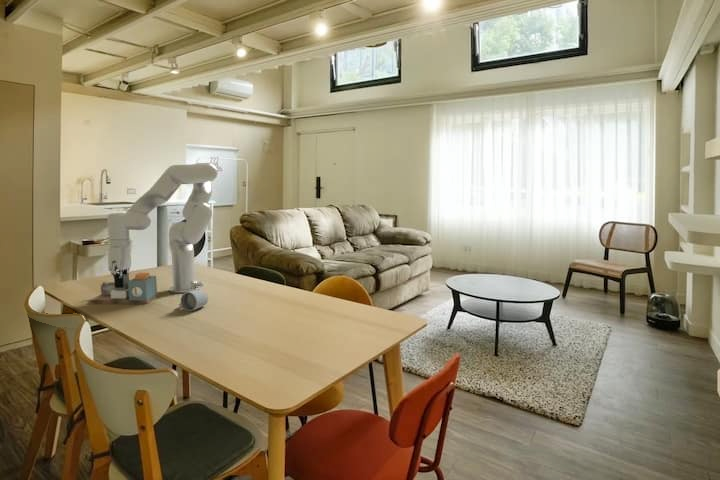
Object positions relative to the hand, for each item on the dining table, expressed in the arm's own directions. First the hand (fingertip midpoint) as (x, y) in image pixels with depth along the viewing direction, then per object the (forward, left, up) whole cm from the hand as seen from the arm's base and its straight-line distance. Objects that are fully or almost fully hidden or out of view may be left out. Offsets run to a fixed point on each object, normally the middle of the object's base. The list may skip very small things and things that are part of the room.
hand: (122, 285), depth 178 cm
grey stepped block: (0, 0, -5) cm, 5 cm away
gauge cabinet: (-8, 0, -5) cm, 10 cm away
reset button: (-8, 0, +2) cm, 9 cm away
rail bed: (-1, 0, -6) cm, 6 cm away
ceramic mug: (-32, +11, -7) cm, 35 cm away
